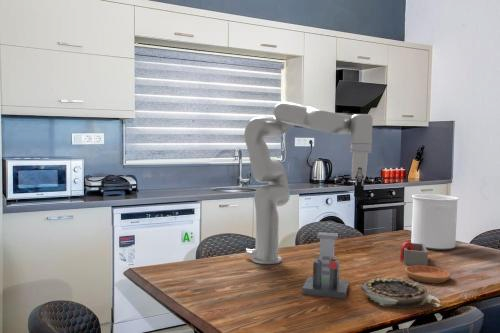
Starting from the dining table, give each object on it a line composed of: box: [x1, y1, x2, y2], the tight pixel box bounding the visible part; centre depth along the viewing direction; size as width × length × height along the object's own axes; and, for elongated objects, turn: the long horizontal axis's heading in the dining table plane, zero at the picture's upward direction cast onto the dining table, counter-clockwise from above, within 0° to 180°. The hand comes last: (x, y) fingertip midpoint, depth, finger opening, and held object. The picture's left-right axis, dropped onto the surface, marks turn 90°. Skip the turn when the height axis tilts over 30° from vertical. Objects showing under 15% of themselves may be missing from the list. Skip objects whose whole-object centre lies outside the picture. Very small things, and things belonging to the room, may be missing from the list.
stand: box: [301, 256, 349, 299], centre depth 158 cm, size 14×14×11 cm
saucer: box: [405, 265, 452, 284], centre depth 175 cm, size 16×16×3 cm
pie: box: [359, 277, 441, 311], centre depth 151 cm, size 28×27×5 cm
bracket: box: [399, 241, 414, 263], centre depth 199 cm, size 12×4×8 cm, turn 121°
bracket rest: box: [402, 241, 429, 266], centre depth 199 cm, size 9×16×6 cm, turn 164°
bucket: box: [410, 193, 460, 251], centre depth 229 cm, size 26×22×24 cm
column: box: [316, 231, 339, 286], centre depth 157 cm, size 6×5×17 cm
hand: (358, 195), depth 169 cm, fingers open, 9 cm apart
